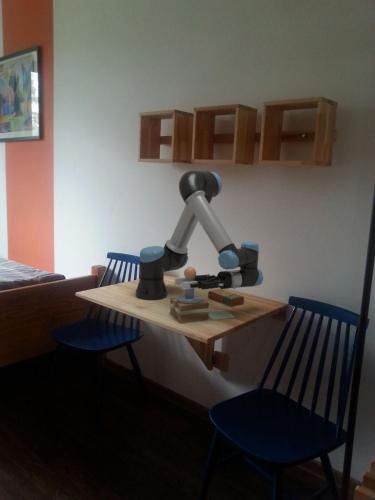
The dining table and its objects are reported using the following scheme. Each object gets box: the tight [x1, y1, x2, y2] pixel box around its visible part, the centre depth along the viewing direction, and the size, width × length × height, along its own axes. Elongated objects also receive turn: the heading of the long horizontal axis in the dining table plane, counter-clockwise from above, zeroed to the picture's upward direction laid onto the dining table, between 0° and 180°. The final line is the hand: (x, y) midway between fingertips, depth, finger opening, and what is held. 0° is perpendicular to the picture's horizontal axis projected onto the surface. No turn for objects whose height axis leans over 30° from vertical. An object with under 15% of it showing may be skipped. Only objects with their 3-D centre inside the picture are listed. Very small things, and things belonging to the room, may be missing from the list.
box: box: [169, 296, 210, 324], centre depth 173 cm, size 12×12×7 cm
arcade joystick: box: [177, 266, 203, 304], centre depth 171 cm, size 10×10×14 cm
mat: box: [208, 309, 235, 321], centre depth 177 cm, size 10×10×1 cm
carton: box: [207, 288, 245, 308], centre depth 197 cm, size 8×16×4 cm, turn 38°
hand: (178, 283), depth 169 cm, fingers open, 7 cm apart
